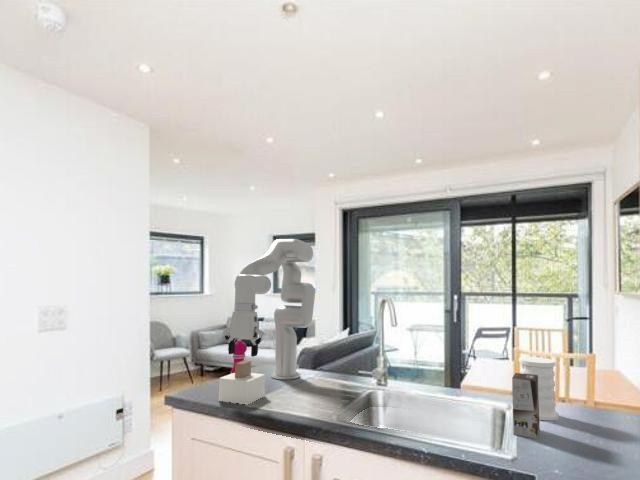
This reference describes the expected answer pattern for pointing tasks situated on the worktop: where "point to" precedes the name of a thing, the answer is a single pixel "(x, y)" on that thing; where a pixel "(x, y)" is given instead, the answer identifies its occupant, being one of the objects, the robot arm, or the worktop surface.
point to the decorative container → (542, 384)
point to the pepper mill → (239, 353)
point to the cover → (242, 385)
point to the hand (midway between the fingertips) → (242, 354)
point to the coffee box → (525, 405)
